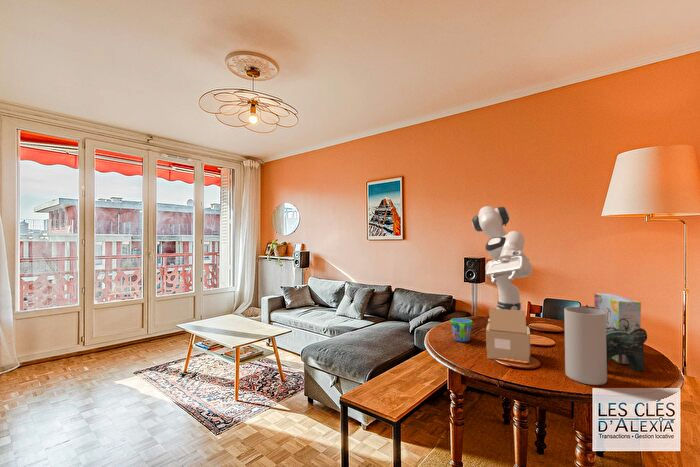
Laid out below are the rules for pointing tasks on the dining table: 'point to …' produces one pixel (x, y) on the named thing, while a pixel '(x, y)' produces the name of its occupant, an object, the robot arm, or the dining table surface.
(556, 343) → the dining table surface
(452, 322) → the snack cup
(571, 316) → the cylinder vase
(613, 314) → the snack box
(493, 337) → the carton
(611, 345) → the game controller
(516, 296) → the robot arm
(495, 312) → the flap
